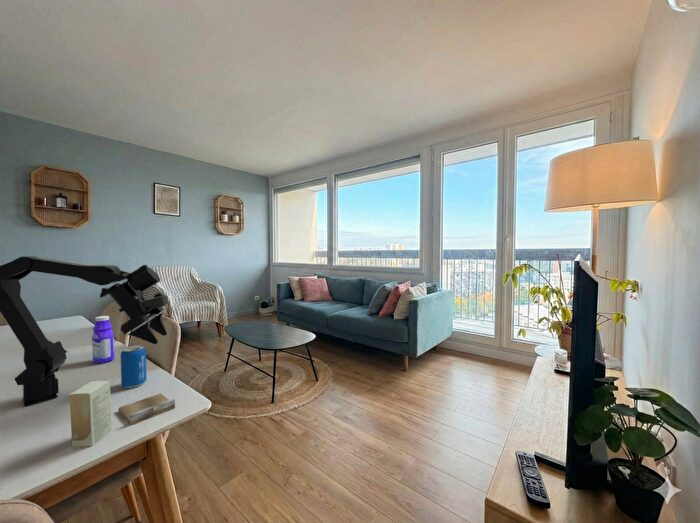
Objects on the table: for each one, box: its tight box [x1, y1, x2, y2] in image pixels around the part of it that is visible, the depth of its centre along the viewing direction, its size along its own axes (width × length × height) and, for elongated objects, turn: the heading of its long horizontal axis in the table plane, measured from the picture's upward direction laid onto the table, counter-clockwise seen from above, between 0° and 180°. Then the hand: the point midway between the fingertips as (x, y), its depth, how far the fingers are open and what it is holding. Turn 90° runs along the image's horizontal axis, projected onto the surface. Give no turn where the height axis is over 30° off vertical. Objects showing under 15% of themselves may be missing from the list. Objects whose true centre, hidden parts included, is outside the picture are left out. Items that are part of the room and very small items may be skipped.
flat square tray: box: [118, 393, 176, 426], centre depth 78 cm, size 10×10×2 cm
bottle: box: [91, 315, 115, 364], centre depth 111 cm, size 7×6×17 cm
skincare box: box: [69, 380, 113, 448], centre depth 66 cm, size 6×4×12 cm
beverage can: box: [120, 344, 147, 389], centre depth 92 cm, size 6×6×12 cm
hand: (161, 338), depth 93 cm, fingers open, 9 cm apart
